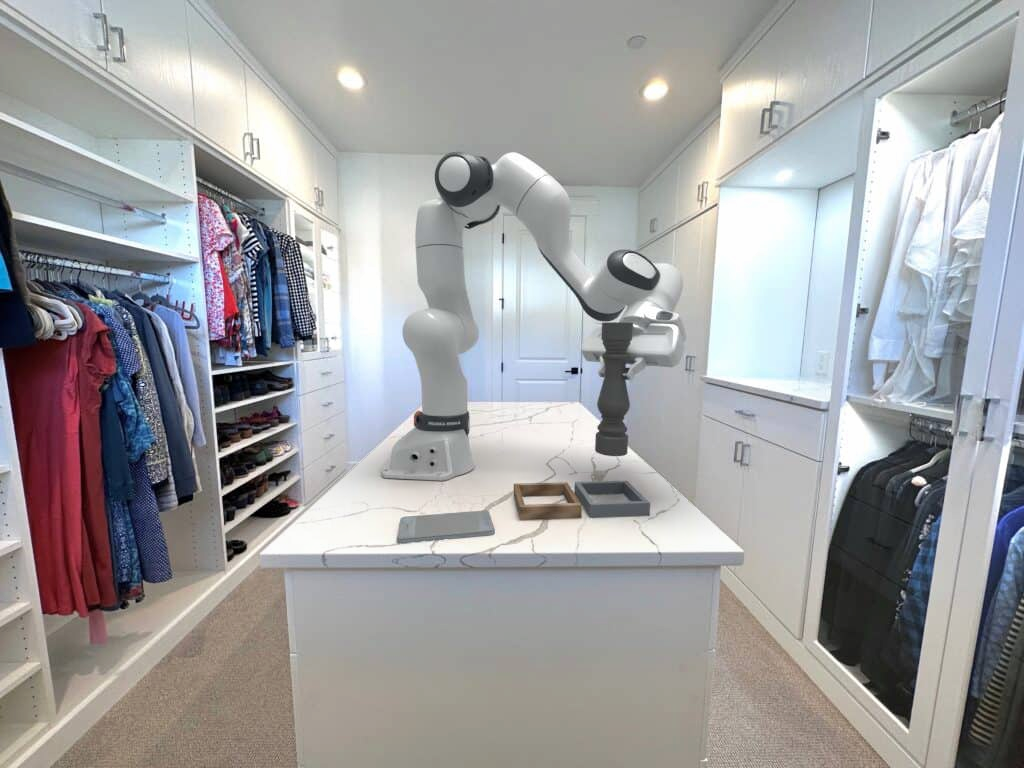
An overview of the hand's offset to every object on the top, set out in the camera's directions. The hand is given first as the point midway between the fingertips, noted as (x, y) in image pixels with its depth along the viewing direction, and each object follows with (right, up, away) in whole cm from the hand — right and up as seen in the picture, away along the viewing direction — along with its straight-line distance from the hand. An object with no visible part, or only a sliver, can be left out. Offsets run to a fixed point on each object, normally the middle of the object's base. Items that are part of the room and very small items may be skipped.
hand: (614, 376), depth 76 cm
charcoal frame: (0, -25, +3) cm, 26 cm away
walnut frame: (-13, -25, +2) cm, 29 cm away
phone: (-31, -27, -7) cm, 42 cm away
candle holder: (0, -15, +2) cm, 15 cm away
